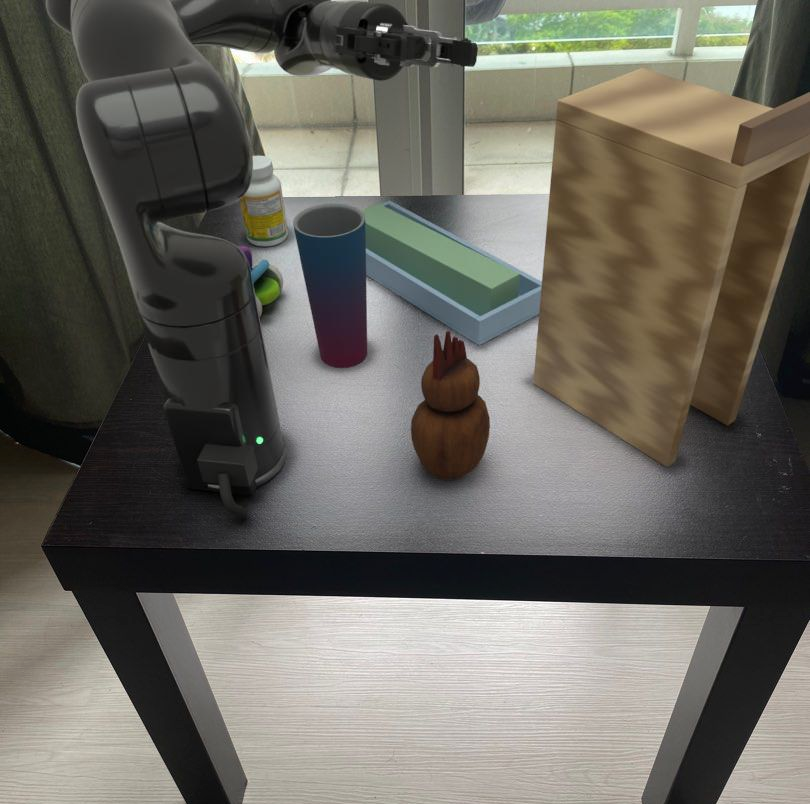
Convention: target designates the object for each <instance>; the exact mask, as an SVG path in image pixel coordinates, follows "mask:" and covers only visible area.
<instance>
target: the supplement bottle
mask: <svg viewBox="0 0 810 804" xmlns="http://www.w3.org/2000/svg"><path fill="white" fill-rule="evenodd" d="M239 203H240V210H241V214H242V220H243V226H244V230H245V235H246V239H247V240H248V242H249V243H250V244H251V245H254V246H257V247H272V246H273V247H274V246H277V245H279V244H281V243H283V242H284V241H285V240H286V239H287V237H288V236H289V231H288V223H287V217H286V211H285V204H284V203H285V202H284V196H283V189H282V183H281V180H280V178H279V177H278V176H277V175H276V174H274V166H273V160H272V158H271V157H269V156H266V155H253V174H252V179H251V183H250V186H249V188H248V191H247V193H246V194H245V195H244V196H243V197H242V198H241V199H240V200H239Z"/></svg>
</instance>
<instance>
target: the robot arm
mask: <svg viewBox="0 0 810 804" xmlns="http://www.w3.org/2000/svg"><path fill="white" fill-rule="evenodd" d="M45 8H46V12H47V15H48V16H49V18H50V19H51V20H52V22H53V23H54V24H55V25H57V26H58V27H59V28H61V30H63V31H64V32H66V33H68V34H70V35H71V38H72V43H73V45H74V49H75V51H76V55H77V58H78V61H79V64H80V67H81V69H82V72H83V74H84V76H85V77H86V80H87V82H84V84H82V85H81V86H80V88H79V89H78V92H77V95H76V100H75V117H76V123H77V129H78V133H79V136H80V140H81V143H82V148H83V151H84V154H85V156H86V160H87V163H88V165H89V168H90V171H91V174H92V176H93V179H94V181H95V185H96V187H97V190H98V193H99V196H100V198H101V200H102V203H103V206H104V208H105V211H106V213H107V216H108V219H109V222H110V225H111V228H112V231H113V234H114V236H115V239H116V241H117V244H118V247H119V250H120V254H121V257H122V260H123V264H124V267H125V270H126V274H127V277H128V281H129V285H130V288H131V289H130V290H131V292H132V296H133V300H134V302H135V306H136V309H137V311H138V312H137V313H138V315H139V319H140V322H141V324H142V328H143V331H144V334H145V338H146V341H147V345H148V348H149V351H150V355H151V359H152V361H153V365H154V367H155V372H156V374H157V377H158V381H159V384H160V387H161V390H162V394H163V396H164V400H165V403H164V404H163V412H164V415H165V419H166V422H167V424H168V427H169V430H170V434H171V438H172V441H173V445H174V447H175V450H176V453H177V457H178V460H179V463H180V466H181V469H182V473H183V475H184V480H185V482H186V486H187V488H188V489H190V490H195V491H205V492H214V493H219V494H220V498H221V501H222V503H223V506H224V507H225V509H226V510H227V511H228V512H229V514H232V515H234V516H236V517H238V518H239V519H243V518H245V517H246V516H247V515H248V510H247V509H246V508H245V507H244V506H242V505H240V504H238V503H237V502H236V501H235V500H234V496H233V495H242V496H252V495H254V493H255V490H256V489H257V488H258V487H260V486H261V485H264V484H265V483H267V482H268V481H270V480H271V479H272V478H274V477H275V476H276V475H277V474H278V473H279V472H280V470H282V468H283V466H284V464H285V461H286V458H287V449H286V444H285V443H286V442H285V439H284V438H283V434H282V429H281V428H282V427H281V423H280V417H279V413H278V408H277V403H276V397H275V391H274V386H273V382H272V376H271V370H270V365H269V360H268V356H267V350H266V344H265V339H264V333H263V328H262V324H261V318H260V317H261V316H259V311H258V306H257V301H256V295H255V290H254V285H253V280H252V274H251V269H250V265H249V262H248V260H247V258H246V256H245V254H244V253H243V252H242V250H241V249H240V248H238V245H236V244H235V243H232V242H231V241H229V240H227V239H224V238H221V237H218V236H215V235H214V236H213V235H210V234H209V235H208V234H203V233H196V232H191V231H185V230H182V229H178V228H175V227H172V226H170V225H167V224H165V223H163V222H164V221H168V220H173V219H174V220H175V219H179V218H184V217H189V216H194V215H199V214H204V213H206V212H208V213H209V212H213V211H217V210H221V209H223V208H226V207H227V208H228V207H229V206H232V205H234V204H236V203H238V202H240V199H241V198H242V197H243V196H244V195H245V194H246V193H247V191H248V188H249V186H250V183H251V179H252V174H253V156H254V155H253V148H252V147H253V146H252V142H251V137H250V133H249V130H248V127H247V124H246V121H245V118H244V116H243V112H242V111H241V108H240V106H239V104H238V101H237V99H236V98H235V95H234V93H233V91H232V90H231V88H230V87H229V85H228V83H227V81H226V80H225V78H224V76H222V74H221V73H220V71H219V70H218V69H217V68H216V67H215V66H214V65H213V64H212V62H211V61H210V60H209V59H208V58H207V57H206V56H205V55H204V54H203V53H202V51H200V50H199V49H198V48H197V47H201V46H202V47H204V46H205V47H207V46H208V47H217V48H227V49H231V50H237V51H243V52H244V51H245V52H248V53H249V52H250V53H254V54H261V55H262V54H269V53H272V52H273V54H274V57H275V61H276V62H277V64H278V66H279V67H280V68H281V69H282V70H283V71H284V72H286V73H287V74H290V75H292V76H295V77H303V78H304V77H314V76H317V75H320V74H324V73H325V72H328V71H329V70H331V69H335V70H340V72H343V73H346V74H348V75H351V76H355V77H359V78H364V79H368V80H369V79H370V80H374V81H379V82H382V81H388V80H390V79H392V78H394V77H395V76H397V75H398V74H400V73H401V71H402V70H403V69H404V67H406V68H413V67H415V66H419V67H425V68H438V67H439V66H440V64H444V65H450V67H456V66H460V67H463V68H464V67H465V68H466V67H468V68H469V67H470V68H471V67H472V68H474V67H475V66H476V64H477V60H478V59H477V58H478V51H479V46H478V44H477V43H476V42H472V40H471V39H469V38H468V37H463V38H459V37H455V36H453V37H450V36H449V37H448V36H443V34H442V32H441V31H437V30H428V29H420V28H419V27H418V26H417V25H409V24H408V22H407V19H406V18H405V16H404V14H403V13H402V12H401V11H400V10H399V9H398V8H396V7H395V6H393V5H392V4H388V3H385V2H374V1H364V0H349V1H336V0H45ZM427 37H428V38H430V40H431V41H430V42H428V40H427V39H428V38H427ZM427 53H429V59H428V60H424V59H423V58H425V57H426V55H427Z"/></svg>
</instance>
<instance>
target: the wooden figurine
mask: <svg viewBox="0 0 810 804" xmlns="http://www.w3.org/2000/svg"><path fill="white" fill-rule="evenodd" d="M432 353H433V358H432V361H430V363H429V364H427V365H426V367H425V369H424V371H423V374H422V376H421V383H420V388H421V393H422V396H423V398H424V400H423V401H421V402H420V403H419V404H418V405H417V406H416V409H415V411H414V413H413V416H412V418H411V419H410V420H411V422H410V438H411V443H412V446H413V449H414V451H415V453H416V456H417V458H418V461H419V463H420V465H421V467H422V468H423V469H424V470H425V472H427V474H428V475H429V476H431V477H434V478H436V479H438V480H443V481H451V480H457V479H458V480H459V479H461V478H464V477H465V476H467V475H469V474H471V473H472V472H473V471H474V470H475V469H476V468H477V467H478V465H479V464H480V463H481V461H482V460H483V457H484V455H485V453H486V449H487V447H488V446H487V445H488V443H489V442H488V441H489V439H490V428H491V422H490V421H491V419H490V418H491V417H490V414H489V410H488V407H487V402H486V401H485V400H484V399H483V398H482V397H481V396H480V394H479V391H480V386H481V379H480V378H481V377H480V372H479V369H478V366H477V364H475V363H474V362H473V361H472V360H471V359H469V358H468V355H467V350H466V345H465V341H464V340H461V339H459V338H458V337H457V336H453V337H452V335H451V331H450V330H446V331H445V336H444V343H443V347H442V343H441V340H440V336H439V334H434V335H433V352H432Z"/></svg>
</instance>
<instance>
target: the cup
mask: <svg viewBox="0 0 810 804" xmlns="http://www.w3.org/2000/svg"><path fill="white" fill-rule="evenodd" d="M361 210H362V209H360V208H358V207H356V206H354V205H351V204H348V203H340V202H339V203H337V202H333V203H332V202H331V203H321V204H317V205H312V206H310V207H307V208H305V209H303V210H301V211H300V212H298V213H297V214H296V215H295V216H294V219H293V221H292V227H293V231H294V235H295V240H296V246H297V250H298V255H299V260H300V264H301V270H302V274H303V280H304V284H305V289H306V293H307V298H308V303H309V308H310V313H311V318H312V321H313V328H314V331H315V337H316V341H317V346H318V351H319V357H320V359H321V361H322V362H323V363H324V364H325V365H327V366H328V367H333V368H337V369H345V368H352V367H355V366H357V365H359V364H361V363H362V362H364V361H365V359H366V358H367V357H368V311H367V310H368V305H367V304H368V303H367V302H368V301H367V300H368V299H367V298H368V297H367V275H366V230H365V215H364V213H363V212H362V211H361Z"/></svg>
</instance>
